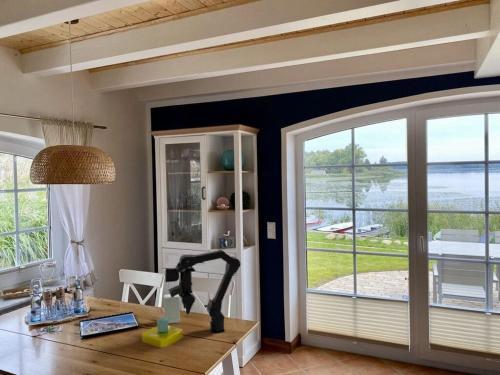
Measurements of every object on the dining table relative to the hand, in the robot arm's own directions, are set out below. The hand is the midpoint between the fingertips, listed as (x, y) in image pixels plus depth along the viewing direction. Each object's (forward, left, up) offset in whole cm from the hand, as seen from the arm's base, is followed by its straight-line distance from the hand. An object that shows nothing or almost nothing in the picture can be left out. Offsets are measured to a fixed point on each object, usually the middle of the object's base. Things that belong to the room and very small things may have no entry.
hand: (186, 311), depth 191 cm
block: (+12, +1, -8) cm, 14 cm away
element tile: (+12, +1, -13) cm, 18 cm away
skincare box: (+5, -20, -12) cm, 24 cm away
